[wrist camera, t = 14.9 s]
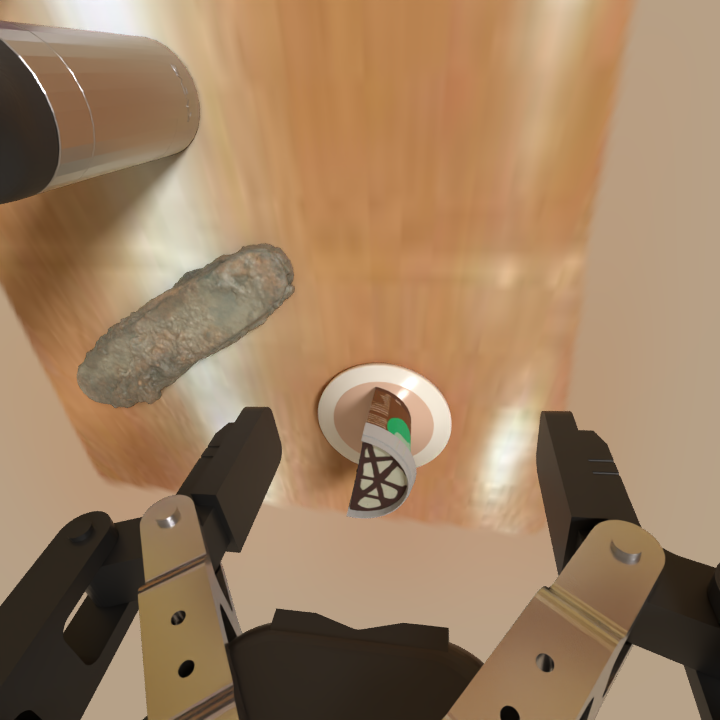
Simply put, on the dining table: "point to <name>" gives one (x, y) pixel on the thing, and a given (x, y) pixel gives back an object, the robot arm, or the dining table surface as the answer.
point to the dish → (353, 400)
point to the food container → (384, 459)
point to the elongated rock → (186, 325)
